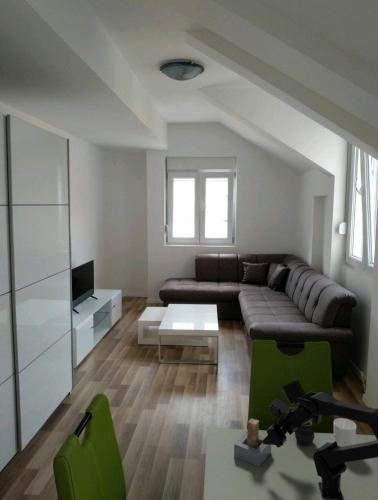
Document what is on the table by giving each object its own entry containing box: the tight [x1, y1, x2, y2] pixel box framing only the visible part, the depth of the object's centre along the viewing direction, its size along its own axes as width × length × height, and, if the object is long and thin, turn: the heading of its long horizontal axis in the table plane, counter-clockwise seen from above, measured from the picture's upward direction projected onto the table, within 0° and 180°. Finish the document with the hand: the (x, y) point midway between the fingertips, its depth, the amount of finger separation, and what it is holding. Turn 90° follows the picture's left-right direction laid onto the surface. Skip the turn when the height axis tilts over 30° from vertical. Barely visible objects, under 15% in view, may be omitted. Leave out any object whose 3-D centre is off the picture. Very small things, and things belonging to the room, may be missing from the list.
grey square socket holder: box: [233, 431, 272, 468], centre depth 145 cm, size 10×10×5 cm
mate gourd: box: [294, 420, 315, 446], centre depth 153 cm, size 7×8×10 cm
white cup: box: [333, 417, 357, 447], centre depth 149 cm, size 8×8×10 cm
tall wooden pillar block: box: [247, 418, 260, 449], centre depth 145 cm, size 3×3×12 cm
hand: (268, 436), depth 141 cm, fingers open, 9 cm apart
